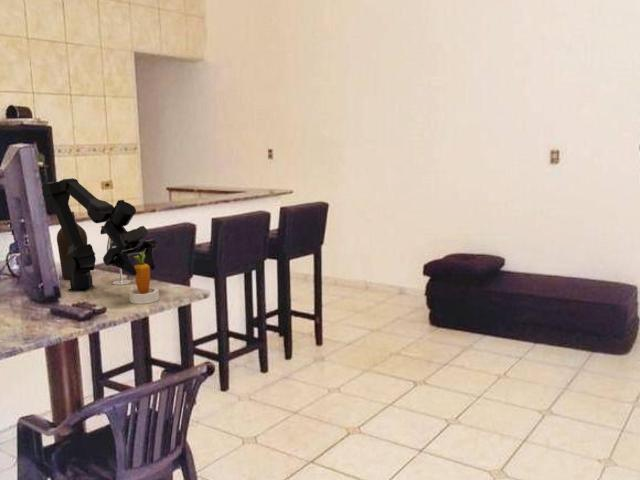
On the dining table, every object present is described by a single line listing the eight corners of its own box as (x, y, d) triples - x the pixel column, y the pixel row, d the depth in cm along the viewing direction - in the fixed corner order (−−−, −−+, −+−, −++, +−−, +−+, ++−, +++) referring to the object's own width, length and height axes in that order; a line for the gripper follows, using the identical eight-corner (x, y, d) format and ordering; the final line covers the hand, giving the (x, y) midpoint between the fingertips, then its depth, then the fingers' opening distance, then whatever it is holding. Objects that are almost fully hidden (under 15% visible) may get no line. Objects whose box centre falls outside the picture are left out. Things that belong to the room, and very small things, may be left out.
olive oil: (69, 282, 227) (62, 214, 223) (55, 278, 234) (48, 212, 230) (96, 276, 235) (90, 211, 230) (82, 272, 242) (76, 209, 237)
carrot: (141, 301, 196) (138, 255, 194) (132, 298, 199) (129, 253, 197) (155, 297, 200) (152, 252, 197) (146, 295, 203) (143, 250, 200)
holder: (125, 303, 196) (124, 294, 196) (137, 296, 205) (136, 287, 204) (151, 304, 195) (151, 295, 194) (163, 296, 203) (162, 287, 203)
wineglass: (126, 285, 219) (122, 235, 216) (105, 285, 221) (100, 235, 218) (137, 280, 227) (133, 231, 224) (117, 279, 229) (113, 231, 226)
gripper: (105, 223, 189) (133, 261, 186) (151, 215, 205) (178, 250, 201) (91, 246, 195) (118, 284, 191) (136, 237, 210) (162, 271, 207)
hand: (145, 271), depth 197 cm, fingers open, 7 cm apart
